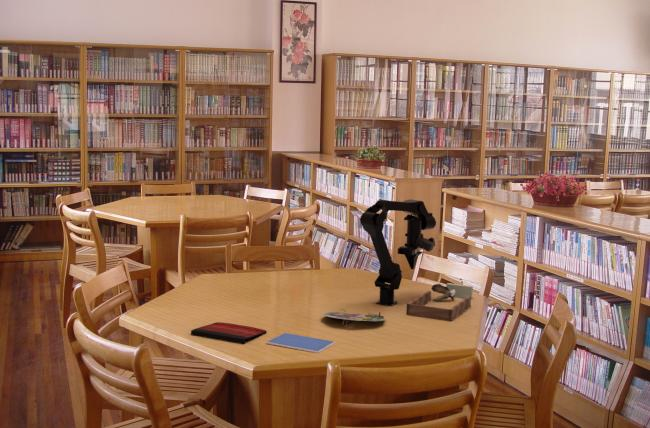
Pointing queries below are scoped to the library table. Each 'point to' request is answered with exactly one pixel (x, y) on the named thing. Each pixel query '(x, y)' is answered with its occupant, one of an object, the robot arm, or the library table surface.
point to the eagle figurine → (443, 292)
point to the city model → (354, 317)
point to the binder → (228, 332)
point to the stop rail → (461, 290)
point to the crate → (434, 312)
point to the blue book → (301, 342)
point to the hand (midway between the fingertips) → (412, 269)
